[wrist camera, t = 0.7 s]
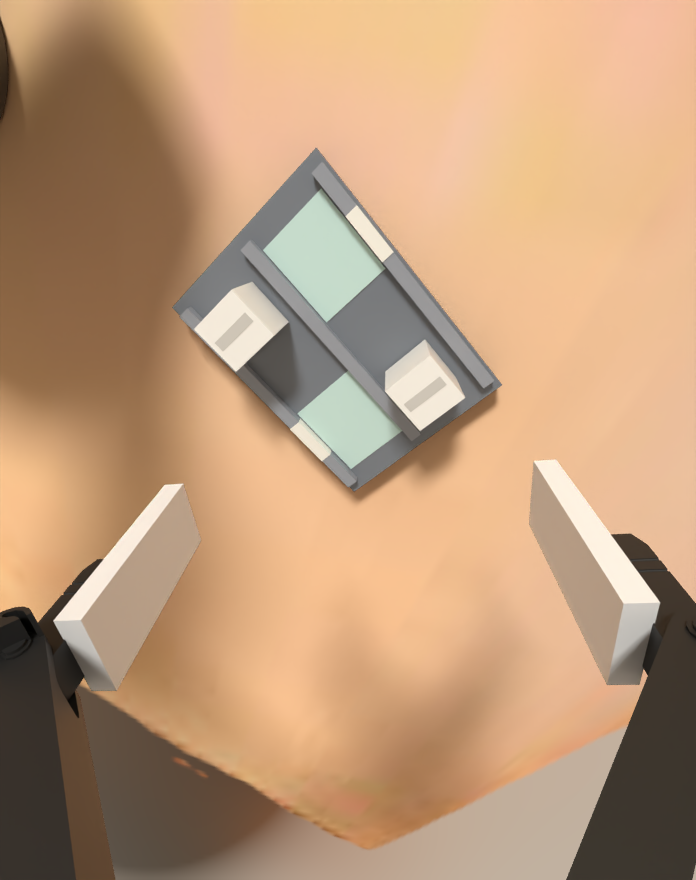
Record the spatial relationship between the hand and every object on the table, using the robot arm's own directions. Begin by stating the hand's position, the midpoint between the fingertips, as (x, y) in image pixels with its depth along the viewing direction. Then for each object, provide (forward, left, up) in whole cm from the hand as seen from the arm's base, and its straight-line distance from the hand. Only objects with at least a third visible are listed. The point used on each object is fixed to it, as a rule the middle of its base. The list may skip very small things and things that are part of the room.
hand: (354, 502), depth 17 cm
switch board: (-3, -2, -23) cm, 23 cm away
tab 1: (-9, -5, -21) cm, 23 cm away
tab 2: (+3, +2, -21) cm, 21 cm away
